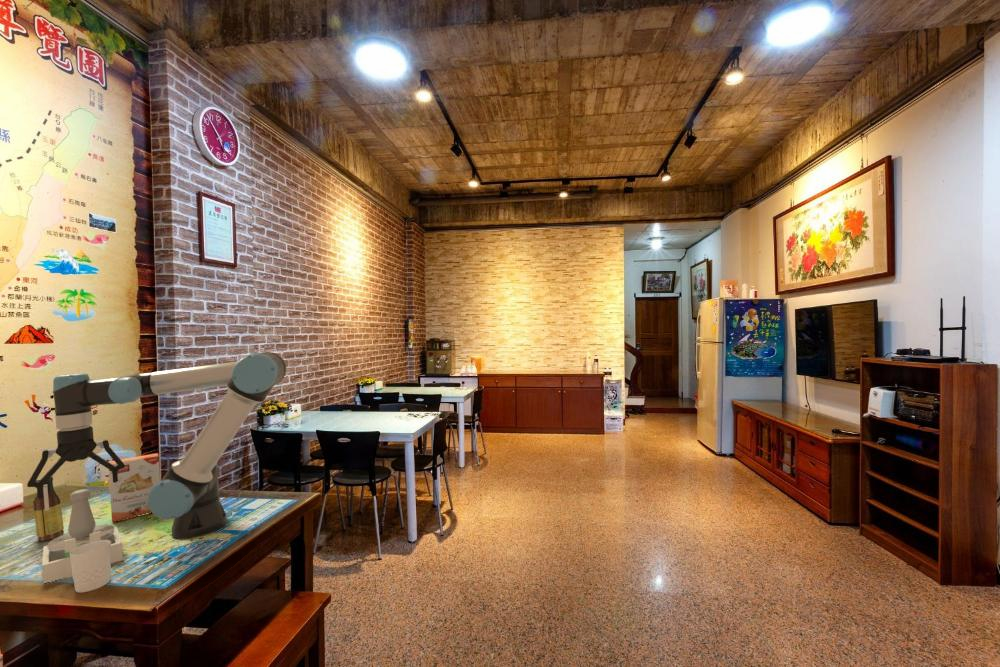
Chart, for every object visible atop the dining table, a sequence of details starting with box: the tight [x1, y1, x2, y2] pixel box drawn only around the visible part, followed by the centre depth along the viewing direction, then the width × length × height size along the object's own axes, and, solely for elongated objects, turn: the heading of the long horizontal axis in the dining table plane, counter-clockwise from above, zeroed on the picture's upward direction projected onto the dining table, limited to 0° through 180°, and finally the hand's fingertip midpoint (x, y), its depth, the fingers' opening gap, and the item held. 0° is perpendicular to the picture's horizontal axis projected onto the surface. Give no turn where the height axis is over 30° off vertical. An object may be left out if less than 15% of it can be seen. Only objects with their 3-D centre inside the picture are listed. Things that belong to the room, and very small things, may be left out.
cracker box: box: [108, 452, 161, 523], centre depth 161 cm, size 14×6×21 cm, turn 129°
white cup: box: [70, 540, 112, 593], centre depth 115 cm, size 8×8×10 cm
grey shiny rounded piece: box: [46, 524, 115, 552], centre depth 127 cm, size 18×14×6 cm
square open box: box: [41, 526, 124, 585], centre depth 127 cm, size 17×16×10 cm
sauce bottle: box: [32, 475, 65, 542], centre depth 145 cm, size 7×6×20 cm
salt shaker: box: [67, 488, 96, 539], centre depth 128 cm, size 6×6×13 cm
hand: (80, 501), depth 128 cm, fingers open, 13 cm apart
